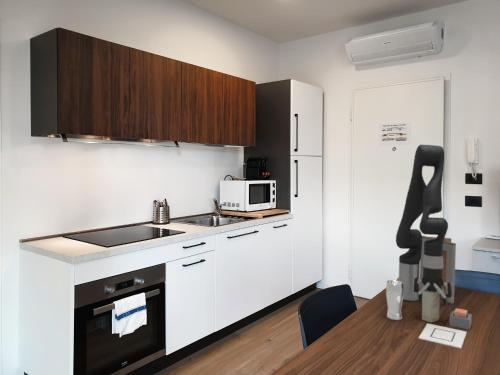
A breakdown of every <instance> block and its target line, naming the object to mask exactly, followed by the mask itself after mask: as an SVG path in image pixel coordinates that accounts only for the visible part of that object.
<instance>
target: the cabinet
mask: <svg viewBox="0 0 500 375" xmlns="http://www.w3.org/2000/svg"><path fill="white" fill-rule="evenodd" d="M436 237H437V236H436ZM436 237H435V236H434V237H433V236H426V235H422V252H421V259H420V274H419V278H421V279H422V278H423V257H424V242H425V241H427V240H432V239H435V238H436ZM456 245H457V244H456V243H453V242H452V238H451V237H450V238H449V237H445V238H444V242H443V281H444V282H449V281H450V282H451V283H452V296H451V298H447V304H450V305H452V304H453V305H454V304H455V286H456V285H455V283H456V280H455V279H456V278H455V277H456V255H457V254H456V253H457V252H456V250H457V246H456ZM423 286H424V285H423V283H422V281H420V283H419V290H421V288H422V287H423ZM442 288H443V290H444V292H445V293H446V294H448V288H447V287H446V286H445V285H443V286H442ZM425 290H427V289H425ZM442 298H443V296H442V295H441V294H440V300H441V301H442Z"/></svg>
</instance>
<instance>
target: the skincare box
mask: <svg viewBox="0 0 500 375" xmlns="http://www.w3.org/2000/svg"><path fill="white" fill-rule="evenodd" d="M440 300H441V299H440V293H439V292H438V291H433V290H428V289H427V290H424V291H423V292H422V303H421V306H422V307H421V320H422V321H425V322H427V323H430V324H431V323H434V322H437V321H439V320H440Z"/></svg>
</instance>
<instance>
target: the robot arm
mask: <svg viewBox="0 0 500 375" xmlns="http://www.w3.org/2000/svg"><path fill="white" fill-rule="evenodd" d="M412 165H413V166H412V173H411V179H410V182H409V186H408V189H407V194H406V198H405V204H404V208H403V212H402V216H401V220H400V222H399V225H398V228H397V231H396V235H395V243H396V246H397V247H398V248H399V249H401V250H403V249H405V250H407V249H408V250H407V251H406V252H404V253H402V254H401V255H399V258H398V277H397V281H401V282H403V287H404V296H403V301H404V300H405V301H418V302H419V303H420V304H422V292H423V291H424V290H425V289H428V290H433V291H438V292H439V293H440V294H441V295H442V296H443V298H442V300H441V306H442V308H445V307H446V306H447V304H448V302H447V298H451V296H452V283H451V282H450V281H449V282H444V281H443V242H444V238H446V235H447V233H448V229H449V223H448V220H447V219H446V218H443V217H429V216H430V215H433V214H438V213H441V212H442V211H443V201H442V200H443V199H442V185H443V176H444V166H445V151H444V148H443V146H441V145H433V144H432V145H431V144H419V145H418V146H417V147H416V150H415V154H414V159H413V164H412ZM424 167H433V175H432V176H431V178H430V180H429V182H428V183H427V184H426V181H425V180H424V177H423V168H424ZM420 216H421V219H420V223H419V229H416V228H412V227H413V225H414V222H415V221H417V219H418V218H419V217H420ZM422 234H423V235H428V236H429V235H431V236H432V235H433V236H436V238H435V239H432V240H427V241H425V242H424V257H423V278H422V279H421V278H420V259H421V252H422V236H423V235H422ZM420 281H422V283H423V285H424V286H423V287H422V288H421V290H419V285H420ZM443 285H445V286H446V287H447V288H448V294H446V293H445V292H444V290H443V288H442V286H443Z"/></svg>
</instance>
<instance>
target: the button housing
mask: <svg viewBox="0 0 500 375" xmlns="http://www.w3.org/2000/svg"><path fill="white" fill-rule="evenodd" d="M454 311H455V310H452V311H451V312H450V315H449V323H448V324H449V327H452V328H453V327H454V328H458V329H464V330H467V331H470V329H471V326H472V319H473V318H472V317H473V315H472V314H471V313H467V318H462V317H457V316H454Z"/></svg>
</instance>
